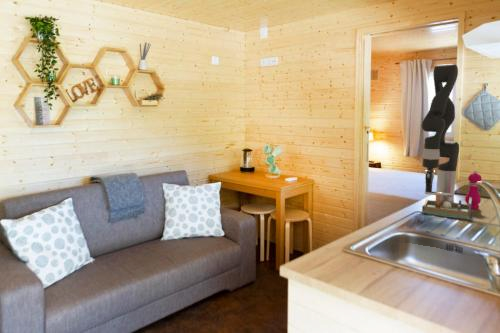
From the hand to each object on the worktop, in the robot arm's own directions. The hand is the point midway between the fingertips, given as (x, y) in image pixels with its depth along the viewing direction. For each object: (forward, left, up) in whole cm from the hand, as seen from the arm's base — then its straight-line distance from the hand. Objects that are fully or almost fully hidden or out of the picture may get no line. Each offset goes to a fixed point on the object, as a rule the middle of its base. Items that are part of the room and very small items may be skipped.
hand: (428, 191), depth 210 cm
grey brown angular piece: (0, +5, -8) cm, 9 cm away
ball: (0, +9, -6) cm, 11 cm away
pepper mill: (-16, +20, -10) cm, 28 cm away
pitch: (0, +9, -10) cm, 13 cm away
